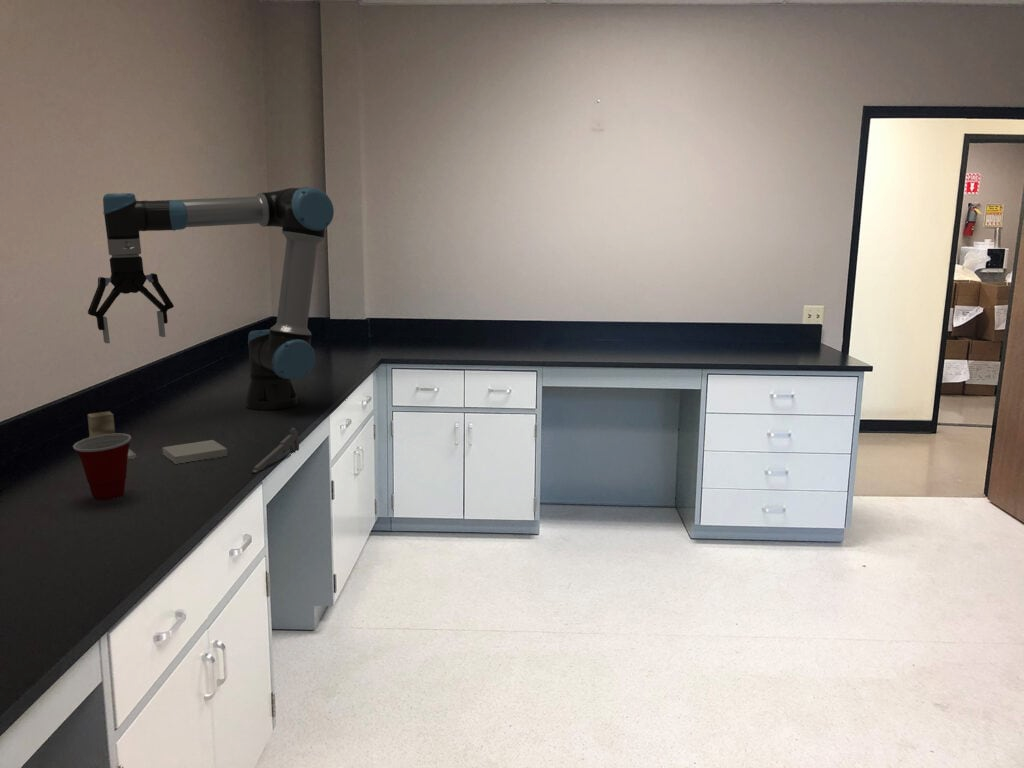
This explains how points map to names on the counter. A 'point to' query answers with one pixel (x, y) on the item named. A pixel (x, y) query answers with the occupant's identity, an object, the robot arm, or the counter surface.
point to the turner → (104, 426)
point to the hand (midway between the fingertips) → (135, 339)
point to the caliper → (280, 449)
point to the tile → (194, 451)
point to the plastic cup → (105, 463)
